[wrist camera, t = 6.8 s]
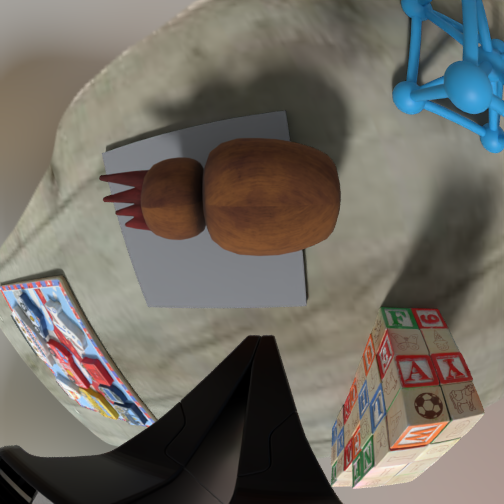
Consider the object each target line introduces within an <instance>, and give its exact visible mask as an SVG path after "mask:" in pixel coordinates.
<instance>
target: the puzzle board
mask: <svg viewBox="0 0 504 504" xmlns="http://www.w3.org/2000/svg"><path fill="white" fill-rule="evenodd" d="M0 290H1V292H2V294H3V296H4V298H5V300H6V302H7V303H8V305H9V307H10V309H11V311H12V314H11V317H12V319H13V321H14V322H15V324H16V326H17V327H18V329H19V330H20V332H21V334H22V335H23V337H24V338H25V340H26V341H27V343H28V344H29V346H30V347H31V349H32V350H33V352H34V353H35V354H36V355H37V356H38V357H40V358H41V359H43V360H44V362H45V363H46V364H47V366H48V367H49V368H50V370H51V371H52V372H53V374H54V375H55V376H56V382H57V383H58V384H59V386H60V387H61V388H62V389H63V390H64V392H65V393H66V394H67V395H68V396H69V397H70V398H72V399H73V400H74V399H75V400H76V401H77V403H78V404H79V405H80V406H82V407H85V408H88V409H90V410H93V411H96V412H99V413H100V414H101V415H103V416H105V417H108V418H111V419H115V420H117V419H120V420H124V421H127V422H128V423H129V424H131V425H137V426H139V425H142V426H146V427H149V426H151V425H152V424H153V423H155V422H156V421H157V419H156V418H155V417H154V416H153V414H152V413H151V412H150V411H149V410H148V408H147V407H146V406H145V405H144V403H143V402H142V401H141V400H140V398H139V397H138V396H137V394H136V393H135V392H134V390H133V389H132V388H131V386H130V385H129V384H128V382H127V381H126V380H125V378H124V377H123V376H122V374H121V373H120V371H119V370H118V368H117V367H116V366H115V364H114V363H113V361H112V360H111V358H110V357H109V355H108V354H107V352H106V351H105V349H104V347H103V346H102V344H101V343H100V341H99V339H98V338H97V336H96V335H95V333H94V331H93V330H92V328H91V326H90V324H89V323H88V321H87V319H86V317H85V316H84V314H83V312H82V310H81V308H80V307H79V305H78V303H77V301H76V299H75V297H74V295H73V293H72V291H71V289H70V287H69V285H68V283H67V281H66V279H65V277H64V276H63V275H58V276H51V277H45V278H39V279H33V280H27V281H21V282H16V283H10V284H5V285H1V286H0Z"/></svg>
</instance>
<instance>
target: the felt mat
mask: <svg viewBox="0 0 504 504" xmlns="http://www.w3.org/2000/svg"><path fill="white" fill-rule="evenodd" d="M237 138H267V139H279V140H284V141H290V136H289V129H288V123H287V116H286V111H277V112H269V113H262V114H255V115H249V116H243V117H237V118H232V119H226V120H221V121H216V122H211V123H206V124H202V125H197V126H193V127H189V128H185V129H181V130H177V131H173V132H169V133H165V134H161V135H158V136H154V137H151V138H147V139H144V140H141V141H137V142H134V143H131V144H128V145H125V146H122V147H119V148H116V149H113V150H110V151H107V152H104V153H102V156H103V160H104V165H105V169H106V174H107V175H108V174H115V173H122V172H130V171H140V170H149V169H150V168H151V167H152V166H153V165H154V164H156V163H158V162H160V161H163V160H166V159H170V158H177V157H185V158H191V159H195V160H197V161H198V162H200V163H201V165H202V166H203V169H204V167H205V164H206V161H207V158H208V156H209V153H210V152H211V151H212V150H213V149H215V148H216V147H217V146H218V145H220V144H221V143H223V142H227V141H230V140H233V139H237ZM109 186H110V191H111V194H112V195H113V194H116V193H119V192H122V191H126V190H129V189H132V188H135V187H131V186H126V185H121V184H116V183H111V182H109ZM131 205H134V204H131V203H116V202H114V206H115V210H116V211H117V210H119V209H122V208H125V207H128V206H131ZM117 217H118V220H119V224H120V227H121V230H122V234H123V237H124V240H125V243H126V247H127V250H128V253H129V256H130V259H131V262H132V265H133V268H134V271H135V273H136V276H137V279H138V282H139V284H140V287H141V290H142V293H143V295H144V298H145V300H146V303H147V305H148V307H169V308H261V307H292V306H306V303H307V302H306V287H305V273H304V261H303V249H302V250H300V251H297V252H292V253H287V254H282V255H272V256H251V255H239V254H236V253H233V252H230V251H227V250H224V249H223V248H221V247H220V246H219V245H218V244H217V243H215V242H214V241H213V240H212V239H211V237H210V234H209V232H208V229H207V226H206V227H205V230H204V231H203V232H202V233H200V234H199V235H197V236H195V237H192V238H189V239H184V240H170V239H166V238H163V237H160V236H157V235H155V234H154V233H153V232H152V231H149V230H141V229H135V228H130V227H126V226H125V223H126V222H128V221H129V220H131V219H132V218H134V217H133V216H119V215H117Z"/></svg>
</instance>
